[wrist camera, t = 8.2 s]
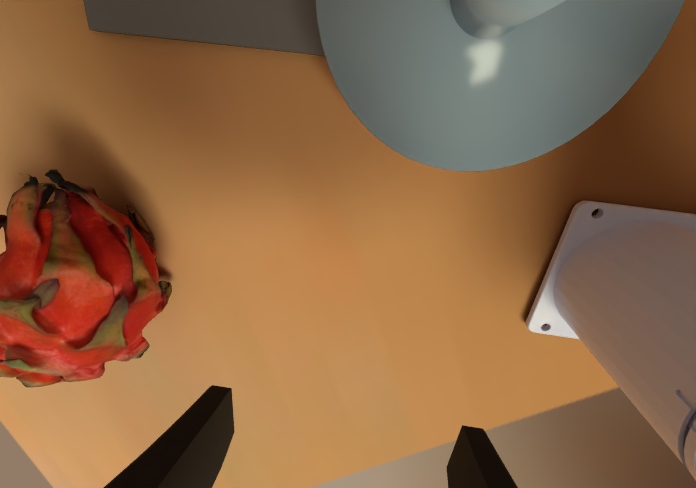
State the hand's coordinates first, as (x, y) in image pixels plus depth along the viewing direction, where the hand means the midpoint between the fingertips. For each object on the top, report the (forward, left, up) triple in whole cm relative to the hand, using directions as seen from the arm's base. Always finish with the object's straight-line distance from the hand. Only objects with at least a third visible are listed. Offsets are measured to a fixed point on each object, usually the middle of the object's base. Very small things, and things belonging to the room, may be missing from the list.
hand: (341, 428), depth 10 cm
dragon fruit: (+15, +1, -10) cm, 18 cm away
